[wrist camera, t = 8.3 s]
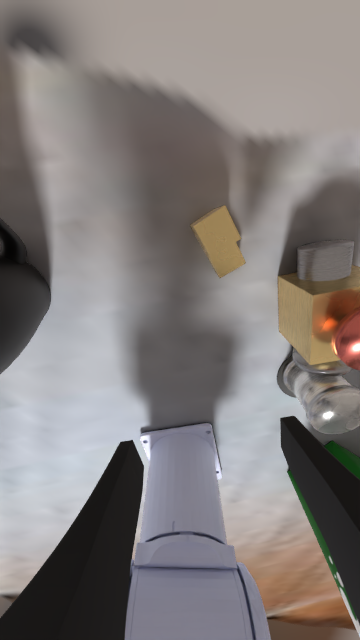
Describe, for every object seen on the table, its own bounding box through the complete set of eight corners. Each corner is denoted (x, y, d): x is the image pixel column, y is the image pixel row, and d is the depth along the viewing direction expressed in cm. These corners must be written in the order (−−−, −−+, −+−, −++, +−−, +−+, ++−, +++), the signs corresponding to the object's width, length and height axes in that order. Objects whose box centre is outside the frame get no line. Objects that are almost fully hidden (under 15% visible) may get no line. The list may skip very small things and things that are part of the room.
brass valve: (335, 341, 20) (408, 396, 14) (279, 351, 20) (324, 409, 14) (345, 235, 16) (451, 244, 10) (276, 250, 17) (336, 267, 10)
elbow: (238, 258, 17) (255, 268, 13) (215, 272, 17) (225, 285, 14) (214, 208, 15) (225, 205, 12) (189, 225, 16) (193, 226, 12)
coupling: (330, 383, 22) (370, 427, 17) (284, 394, 22) (312, 439, 17) (328, 346, 20) (373, 384, 15) (279, 359, 20) (308, 399, 16)
